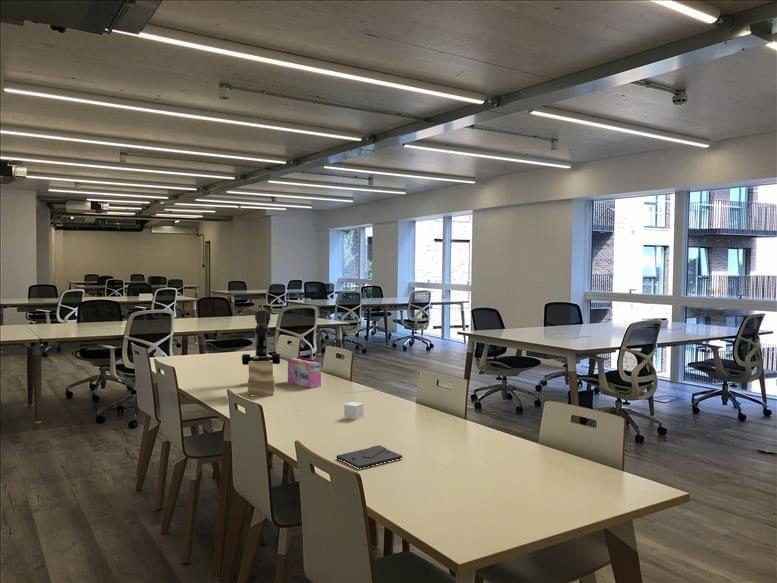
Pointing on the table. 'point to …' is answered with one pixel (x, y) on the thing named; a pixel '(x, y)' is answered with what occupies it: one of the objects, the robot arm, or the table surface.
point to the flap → (260, 371)
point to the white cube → (353, 410)
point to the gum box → (304, 372)
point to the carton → (261, 387)
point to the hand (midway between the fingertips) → (260, 373)
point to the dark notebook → (369, 456)
